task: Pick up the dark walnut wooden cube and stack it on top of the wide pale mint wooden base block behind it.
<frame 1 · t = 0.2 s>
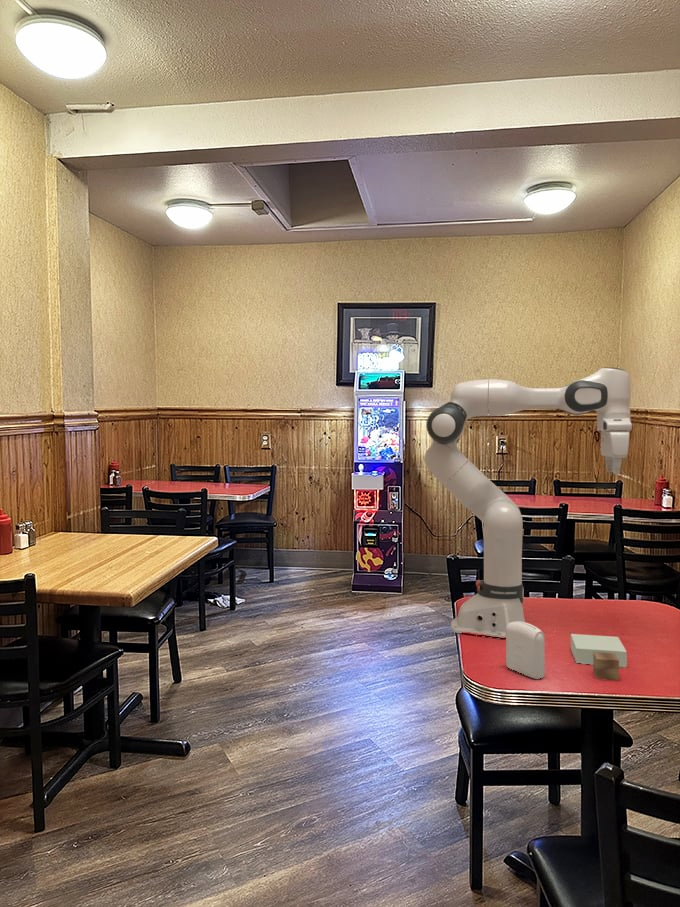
hand: (613, 472, 182), 48 cm above the table, tool pointing down, fingers open, 8 cm apart
white slotted box: (524, 673, 157), on the table
walnut cube: (605, 676, 154), on the table
mint base block: (597, 657, 167), on the table
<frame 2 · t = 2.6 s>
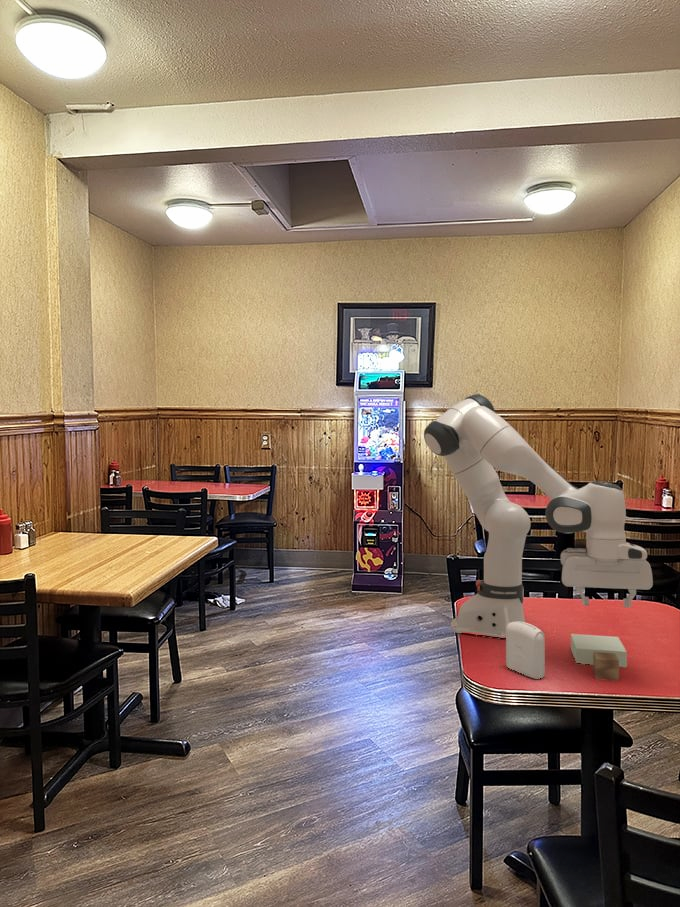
hand: (606, 605, 153), 17 cm above the table, tool pointing down, fingers open, 8 cm apart
nothing on the table moved.
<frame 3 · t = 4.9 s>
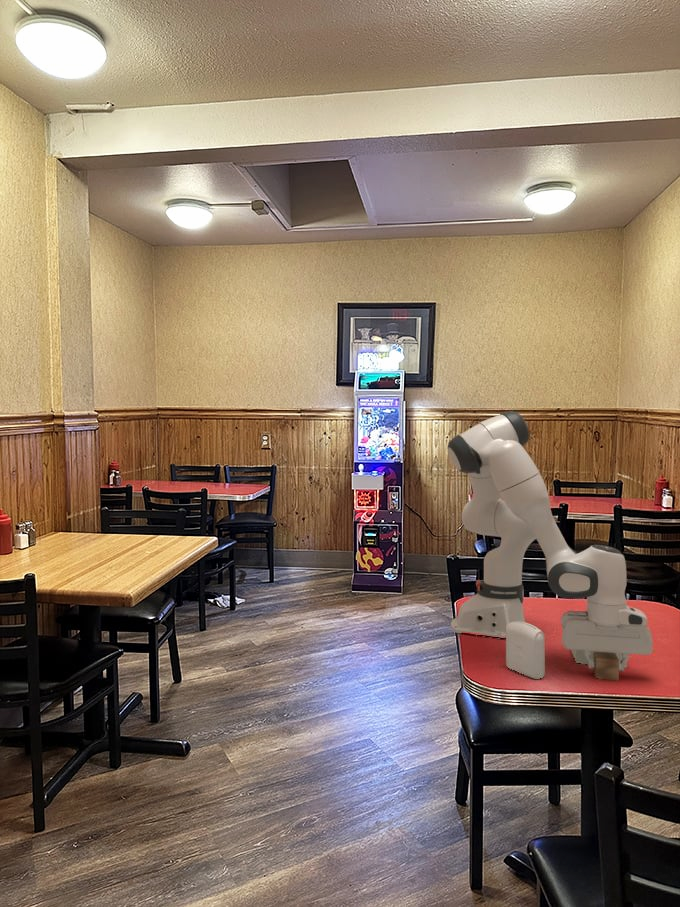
hand: (605, 669, 154), 2 cm above the table, tool pointing down, fingers closed on walnut cube, 5 cm apart
walnut cube: (605, 676, 154), on the table, touching gripper
everything else where it was.
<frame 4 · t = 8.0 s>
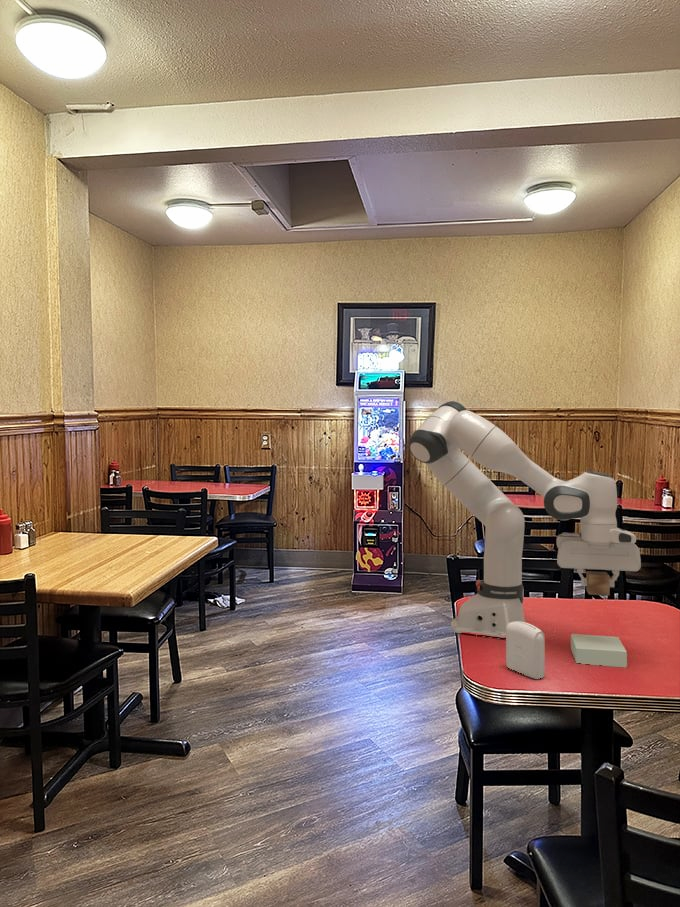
hand: (597, 586, 166), 19 cm above the table, tool pointing down, fingers closed on walnut cube, 5 cm apart
walnut cube: (597, 592, 166), point 17 cm above the table, touching gripper
everything else where it was.
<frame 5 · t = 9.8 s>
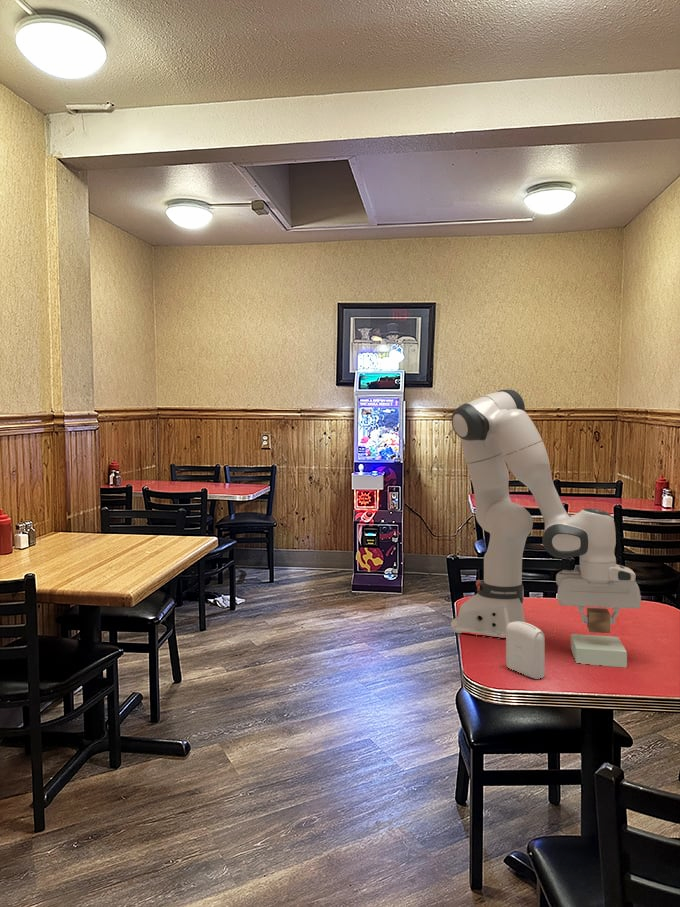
hand: (598, 623, 166), 9 cm above the table, tool pointing down, fingers closed on walnut cube, 5 cm apart
walnut cube: (598, 629, 166), point 7 cm above the table, touching gripper
everything else where it was.
when the fingers open (7 cm above the table, at t = 11.2 s): walnut cube stays where it is, resting on mint base block.
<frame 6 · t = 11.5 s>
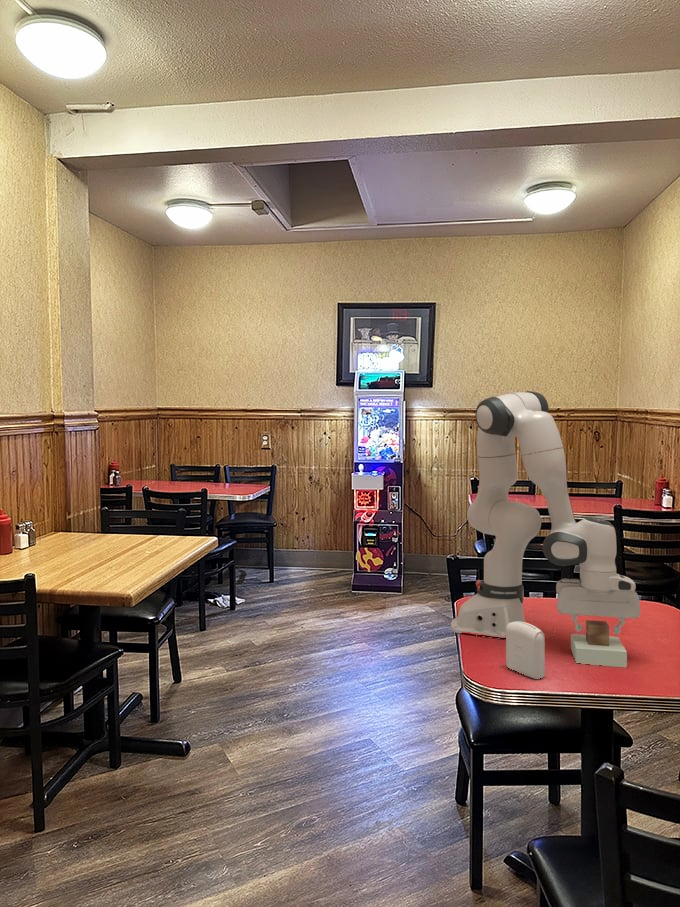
hand: (597, 632, 166), 7 cm above the table, tool pointing down, fingers open, 8 cm apart
walnut cube: (597, 642, 167), point 4 cm above the table, touching mint base block
everything else where it was.
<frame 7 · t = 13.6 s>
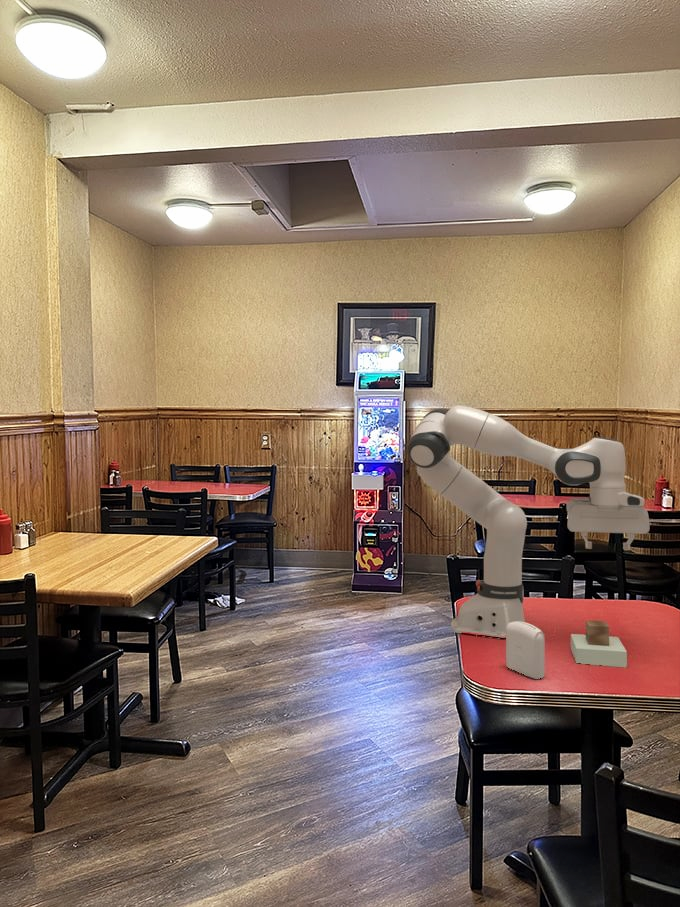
hand: (607, 549, 170), 28 cm above the table, tool pointing down, fingers open, 8 cm apart
nothing on the table moved.
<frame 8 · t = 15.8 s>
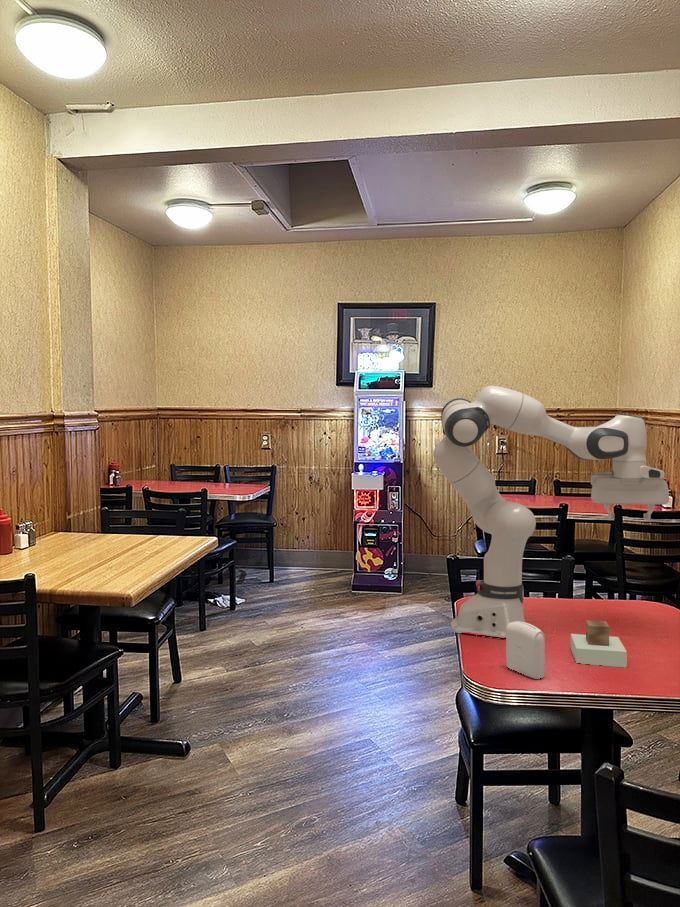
hand: (629, 519, 181), 34 cm above the table, tool pointing down, fingers open, 8 cm apart
nothing on the table moved.
at the end: walnut cube inside the target area on the mint base block (0.1 cm from its centre), point 4.0 cm above the mint base block's base; walnut cube tilted 0°; the gripper is holding nothing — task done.
